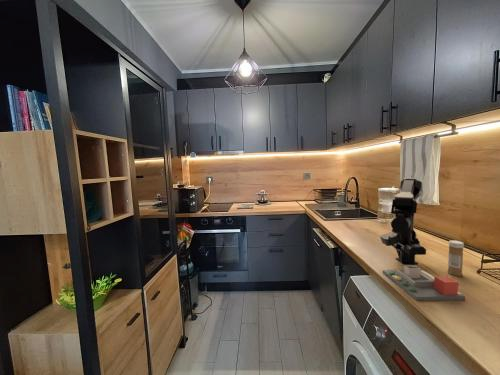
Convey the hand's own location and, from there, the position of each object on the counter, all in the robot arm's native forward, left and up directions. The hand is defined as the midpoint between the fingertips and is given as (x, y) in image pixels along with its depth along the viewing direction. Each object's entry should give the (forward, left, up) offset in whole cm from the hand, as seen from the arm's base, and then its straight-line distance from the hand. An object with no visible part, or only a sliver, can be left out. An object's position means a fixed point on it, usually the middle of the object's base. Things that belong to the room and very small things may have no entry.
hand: (402, 263), depth 96 cm
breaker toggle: (+6, 0, -3) cm, 7 cm away
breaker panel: (+10, 0, -4) cm, 11 cm away
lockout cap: (+17, +4, -3) cm, 18 cm away
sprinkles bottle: (+2, +20, -4) cm, 20 cm away
